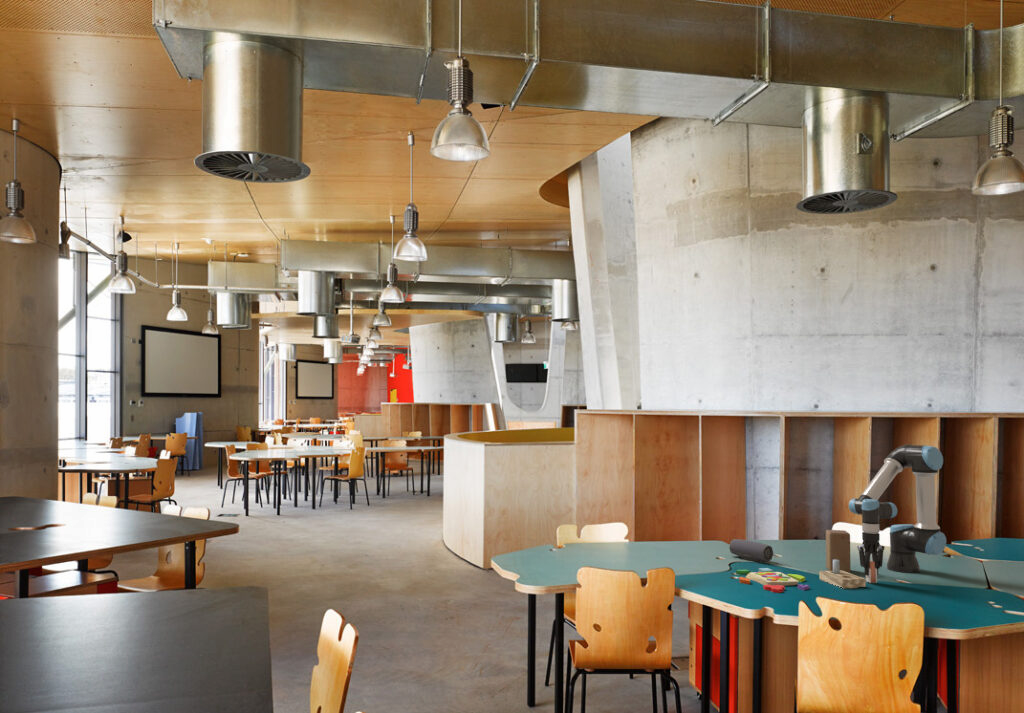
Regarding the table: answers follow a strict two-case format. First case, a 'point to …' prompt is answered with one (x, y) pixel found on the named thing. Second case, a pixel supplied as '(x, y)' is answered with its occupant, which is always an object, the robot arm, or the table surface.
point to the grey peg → (836, 567)
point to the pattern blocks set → (772, 579)
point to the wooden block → (838, 549)
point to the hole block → (842, 579)
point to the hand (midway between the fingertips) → (871, 581)
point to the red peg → (872, 571)
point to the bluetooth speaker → (751, 550)
